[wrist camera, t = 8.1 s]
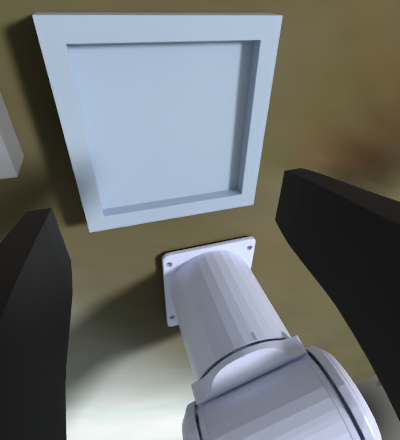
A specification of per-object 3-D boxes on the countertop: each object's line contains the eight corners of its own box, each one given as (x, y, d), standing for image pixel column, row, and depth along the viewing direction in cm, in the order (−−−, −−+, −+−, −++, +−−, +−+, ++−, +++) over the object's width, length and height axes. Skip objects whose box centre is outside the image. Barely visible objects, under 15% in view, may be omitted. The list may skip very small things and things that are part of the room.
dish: (242, 191, 22) (253, 204, 21) (89, 215, 20) (89, 232, 18) (265, 12, 16) (282, 15, 14) (37, 11, 13) (32, 15, 12)
